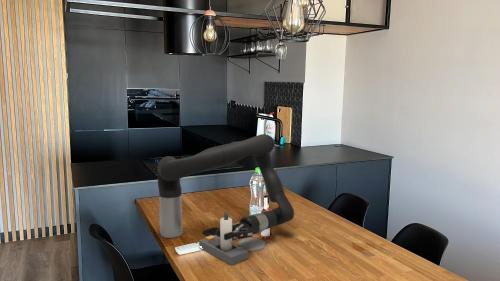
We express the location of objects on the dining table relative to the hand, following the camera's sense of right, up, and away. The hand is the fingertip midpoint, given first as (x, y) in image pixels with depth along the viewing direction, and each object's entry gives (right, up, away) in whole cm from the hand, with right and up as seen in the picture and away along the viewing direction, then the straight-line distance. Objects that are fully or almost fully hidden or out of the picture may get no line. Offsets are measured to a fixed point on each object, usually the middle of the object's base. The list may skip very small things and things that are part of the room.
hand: (220, 235), depth 147 cm
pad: (+12, -7, +12) cm, 18 cm away
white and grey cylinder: (+2, -8, +3) cm, 9 cm away
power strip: (+1, -8, +5) cm, 9 cm away
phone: (-2, -6, +21) cm, 22 cm away
